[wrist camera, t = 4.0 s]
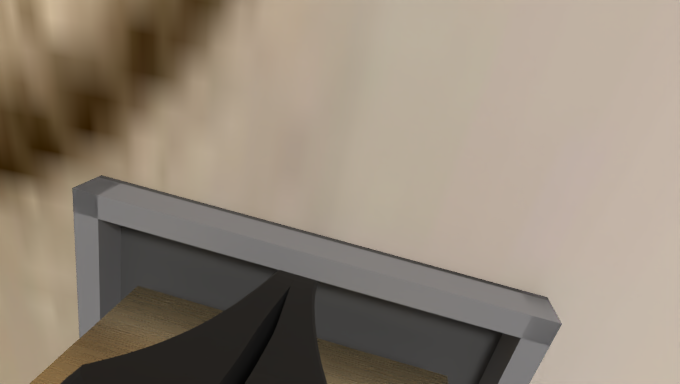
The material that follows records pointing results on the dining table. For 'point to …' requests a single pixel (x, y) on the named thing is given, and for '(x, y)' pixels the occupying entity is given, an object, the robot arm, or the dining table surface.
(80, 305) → the pit tray
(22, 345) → the dining table surface
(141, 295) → the slider
